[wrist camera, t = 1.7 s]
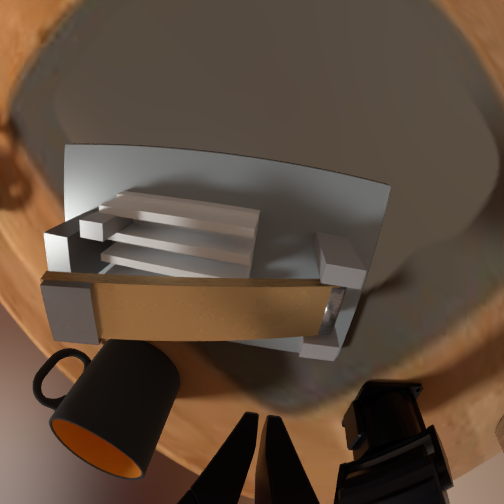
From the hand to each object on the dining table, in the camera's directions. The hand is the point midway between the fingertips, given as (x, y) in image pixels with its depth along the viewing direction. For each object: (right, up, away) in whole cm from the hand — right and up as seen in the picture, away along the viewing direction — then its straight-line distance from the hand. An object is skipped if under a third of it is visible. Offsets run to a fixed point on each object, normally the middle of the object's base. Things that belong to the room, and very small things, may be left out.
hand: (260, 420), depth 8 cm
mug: (-13, -5, +17) cm, 22 cm away
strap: (-3, +3, +6) cm, 7 cm away
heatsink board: (-4, +5, +12) cm, 13 cm away
